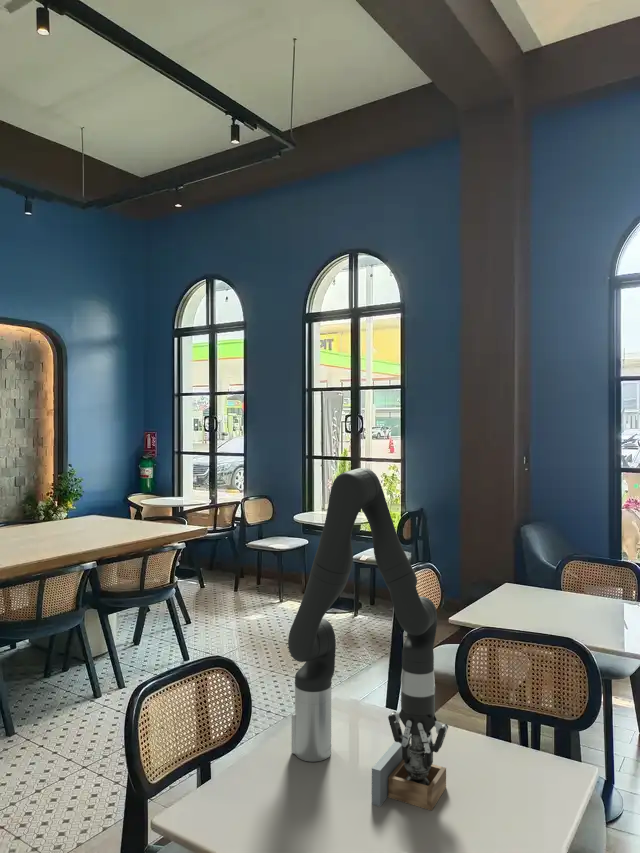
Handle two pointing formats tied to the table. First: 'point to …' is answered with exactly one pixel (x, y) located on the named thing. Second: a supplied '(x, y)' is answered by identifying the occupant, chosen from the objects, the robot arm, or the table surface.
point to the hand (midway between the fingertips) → (417, 764)
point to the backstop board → (385, 772)
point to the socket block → (417, 787)
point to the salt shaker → (417, 762)
